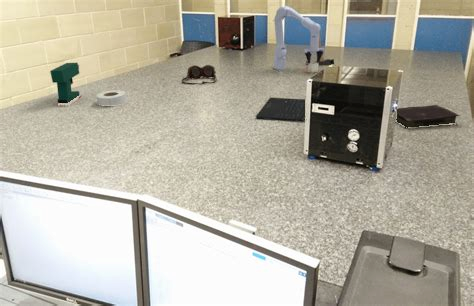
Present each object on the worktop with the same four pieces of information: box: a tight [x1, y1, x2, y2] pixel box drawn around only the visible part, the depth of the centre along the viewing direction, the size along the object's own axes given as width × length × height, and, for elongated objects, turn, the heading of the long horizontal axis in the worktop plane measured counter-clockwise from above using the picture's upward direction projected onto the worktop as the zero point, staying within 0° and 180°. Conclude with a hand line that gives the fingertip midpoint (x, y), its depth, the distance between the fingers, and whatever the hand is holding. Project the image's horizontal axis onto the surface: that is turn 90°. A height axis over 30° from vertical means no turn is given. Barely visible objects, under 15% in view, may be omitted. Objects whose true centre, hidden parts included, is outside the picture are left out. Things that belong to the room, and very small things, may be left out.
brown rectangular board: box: [296, 66, 321, 75], centre depth 284 cm, size 18×12×4 cm, turn 23°
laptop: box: [255, 97, 306, 122], centre depth 202 cm, size 33×38×19 cm
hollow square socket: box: [307, 61, 320, 74], centre depth 279 cm, size 5×5×6 cm
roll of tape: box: [96, 89, 127, 105], centre depth 228 cm, size 16×16×6 cm
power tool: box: [49, 62, 81, 104], centre depth 236 cm, size 32×7×20 cm, turn 178°
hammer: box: [305, 32, 335, 67], centre depth 295 cm, size 20×5×30 cm, turn 79°
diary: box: [396, 104, 461, 129], centre depth 186 cm, size 19×25×5 cm
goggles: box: [181, 64, 217, 85], centre depth 269 cm, size 24×24×10 cm
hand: (313, 62), depth 278 cm, fingers open, 7 cm apart
